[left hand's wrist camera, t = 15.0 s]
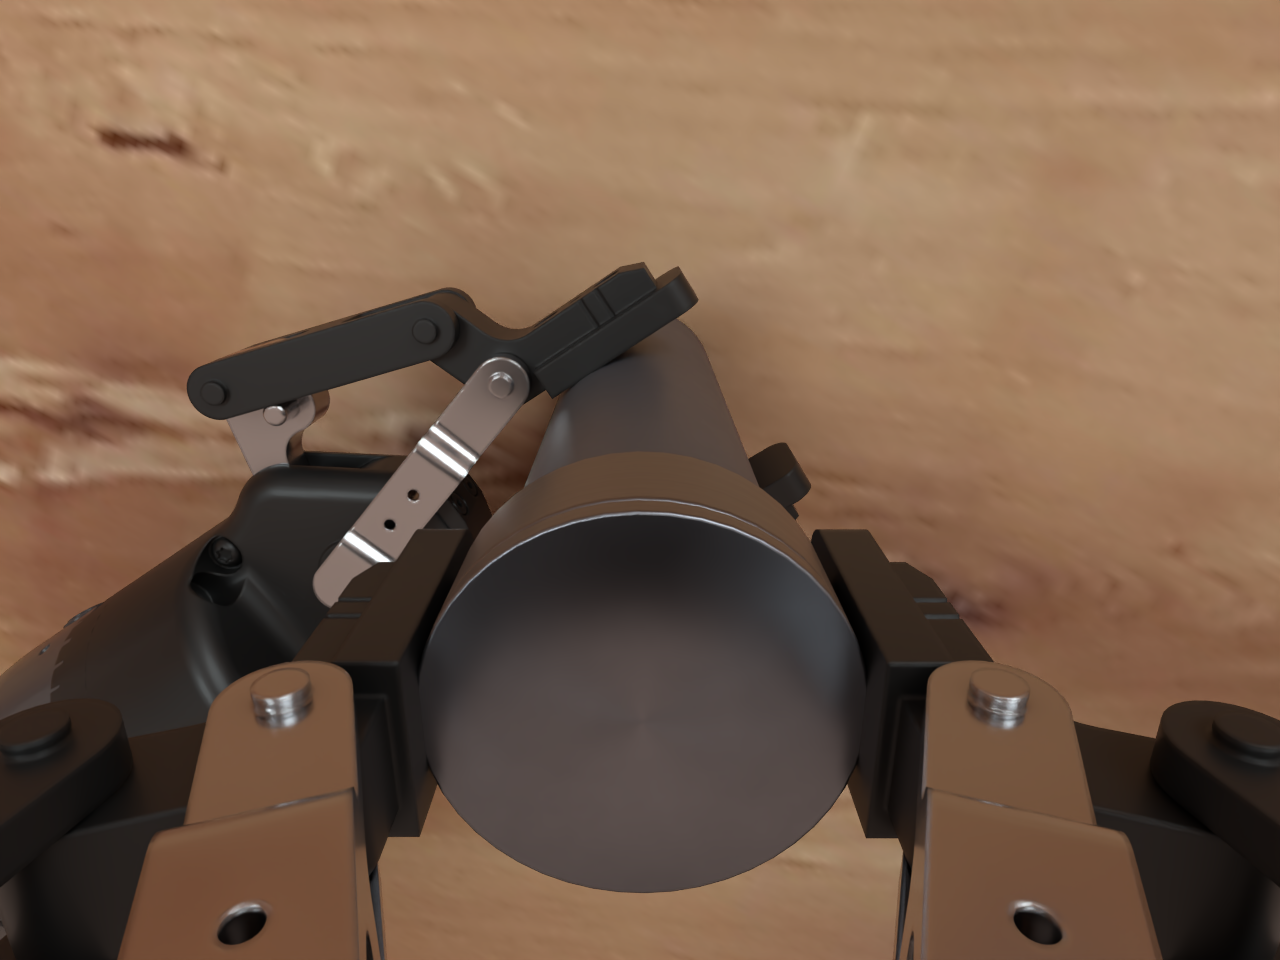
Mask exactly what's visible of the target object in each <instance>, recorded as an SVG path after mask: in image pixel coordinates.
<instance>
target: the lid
mask: <svg viewBox="0 0 1280 960" xmlns="http://www.w3.org/2000/svg"><path fill="white" fill-rule="evenodd" d="M418 684H419V694H420V703H421V712H422V721H423V730H424V739H425V748H426V756H427V763H428V765H429V768H430V771H431V773H432V775H433V777H434V778H435V780H436V782H437V784H438V786H439V787H440V789H441V791H442V793H443V794H444V796H445V797H446V798H447V800H448V801H449V802H450V804H451V805H452V806H453V808H454V809H455V810H456V812H457V813H458V814H459V815H460V816H461V817H462V818H463V819H464V820H465V821H466V822H467V823H468V824H469V826H470V827H471V828H472V829H473V830H474V831H475V832H476V833H478V834H479V835H480V836H481V837H483V838H484V839H485V840H486V841H488V842H489V843H490V844H491V845H493V846H494V847H495V848H497V849H498V850H500V851H501V852H503V853H505V854H506V855H508V856H509V857H511V858H513V859H514V860H516V861H517V862H519V863H521V864H523V865H525V866H528V867H530V868H532V869H534V870H536V871H538V872H540V873H542V874H545V875H548V876H551V877H554V878H556V879H559V880H562V881H565V882H568V883H572V884H576V885H581V886H585V887H589V888H593V889H601V890H608V891H615V892H632V893H654V892H669V891H678V890H684V889H689V888H695V887H701V886H704V885H708V884H712V883H715V882H719V881H723V880H726V879H729V878H731V877H734V876H736V875H739V874H741V873H744V872H746V871H749V870H751V869H753V868H755V867H757V866H759V865H761V864H763V863H765V862H767V861H768V860H770V859H772V858H774V857H775V856H777V855H778V854H780V853H781V852H783V851H784V850H786V849H787V848H789V847H790V846H792V845H793V844H795V843H796V842H797V841H798V840H799V839H801V838H802V837H803V836H804V835H805V834H806V833H807V832H809V831H810V830H811V829H812V828H813V827H814V826H815V825H816V824H817V823H818V822H819V821H820V820H821V819H822V817H823V816H824V815H825V814H826V813H827V812H828V811H829V810H830V809H831V807H832V806H833V804H834V803H835V802H836V800H837V799H838V797H839V796H840V794H841V793H842V791H843V790H844V788H845V787H846V785H847V783H848V781H849V779H850V777H851V775H852V773H853V771H854V769H855V767H856V765H857V762H858V757H859V750H860V741H861V733H862V724H863V715H864V706H865V698H866V687H867V672H866V665H865V662H864V659H863V655H862V652H861V649H860V646H859V643H858V640H857V637H856V635H855V633H854V631H853V629H852V627H851V625H850V623H849V621H848V619H847V616H846V614H845V612H844V610H843V608H842V606H841V604H840V602H839V600H838V598H837V596H836V593H835V591H834V589H833V587H832V585H831V583H830V581H829V579H828V577H827V575H826V572H825V570H824V568H823V566H822V564H821V562H820V560H819V558H818V556H817V554H816V552H815V550H814V548H813V546H812V544H811V542H810V540H809V539H808V537H807V536H806V534H805V533H804V531H803V530H802V528H801V527H800V526H799V524H798V523H797V521H796V520H795V519H794V518H793V517H792V516H791V515H790V514H789V513H788V512H787V511H786V510H785V508H784V507H783V506H782V505H781V504H780V503H778V502H777V501H776V500H775V499H774V498H772V497H771V496H770V495H769V494H768V493H766V492H765V491H764V490H763V489H761V488H760V487H758V486H757V485H755V484H753V483H752V482H750V481H748V480H747V479H745V478H744V477H742V476H740V475H738V474H736V473H734V472H732V471H729V470H727V469H725V468H723V467H720V466H718V465H716V464H713V463H709V462H706V461H703V460H699V459H696V458H693V457H688V456H682V455H676V454H670V453H664V452H641V451H636V452H624V453H612V454H607V455H602V456H597V457H592V458H588V459H584V460H581V461H578V462H575V463H572V464H569V465H566V466H563V467H561V468H558V469H556V470H554V471H552V472H550V473H548V474H546V475H544V476H542V477H540V478H538V479H537V480H535V481H534V482H532V483H531V484H529V485H528V486H526V487H525V488H523V489H522V490H520V491H519V492H517V493H516V494H515V495H514V496H513V497H511V498H510V499H509V500H508V501H507V502H506V503H505V504H504V505H503V506H501V507H500V508H499V509H498V510H497V511H496V512H495V514H494V515H493V516H492V517H491V518H490V520H489V521H488V522H487V523H486V524H485V526H484V527H483V528H482V529H481V531H480V533H479V534H478V536H477V537H476V539H475V541H474V542H473V544H472V546H471V547H470V549H469V551H468V553H467V555H466V557H465V560H464V562H463V564H462V566H461V568H460V570H459V572H458V574H457V576H456V579H455V581H454V583H453V585H452V587H451V589H450V591H449V593H448V596H447V598H446V600H445V602H444V604H443V606H442V608H441V611H440V613H439V615H438V617H437V619H436V621H435V623H434V625H433V628H432V630H431V632H430V635H429V637H428V639H427V642H426V644H425V646H424V649H423V653H422V657H421V661H420V665H419V668H418Z"/></svg>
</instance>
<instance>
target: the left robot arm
mask: <svg viewBox="0 0 1280 960" xmlns="http://www.w3.org/2000/svg"><path fill="white" fill-rule="evenodd" d="M472 544H473V538H472V534H471V532H470V530H469V529H417V530H416V531H415V532H414V534H413V535H412V537H411V538H410V540H409V542H408V543H407V545H406V546H405V548H404V549H403V551H402V552H401V554H400V555H399V557H398V558H397V560H396V562H378V563H376V564H375V565H373V566H371V567H370V568H368V569H367V570H365V571H363V572H362V573H360V574H359V575H357V576H355V577H354V578H352V580H351V581H350V582H349V584H348V585H347V586H346V588H345V589H344V590H343V592H342V593H341V595H340V596H339V597H338V602H335V603H334V604H333V606H332V607H331V608H330V610H329V611H328V612H327V614H326V618H323V619H322V621H321V622H320V623H319V625H318V626H317V627H316V629H315V630H314V632H313V633H312V634H311V636H310V637H309V638H308V640H307V641H306V642H305V644H304V645H303V647H302V648H301V649H300V651H299V652H298V653H297V655H296V656H295V658H294V659H293V660H292V662H286V663H281V664H276V665H272V666H269V667H266V668H262V669H260V670H257V671H255V672H252V673H250V674H248V675H246V676H244V677H242V678H240V679H238V680H237V681H235V682H233V683H232V684H230V685H229V686H228V687H227V688H225V689H224V690H223V691H222V692H221V693H220V694H219V695H218V696H217V697H216V698H215V700H214V701H213V703H212V704H211V707H210V709H209V712H208V717H207V721H206V722H204V723H200V724H196V725H192V726H187V727H182V728H177V729H171V730H166V731H161V732H156V733H151V734H146V735H140V736H135V737H130V738H128V737H127V733H126V729H125V726H124V722H123V718H122V715H121V712H120V710H119V709H118V708H117V707H116V706H115V705H113V704H111V703H109V702H107V701H103V700H99V699H89V698H86V699H69V700H61V701H56V702H50V703H47V704H43V705H39V706H35V707H32V708H29V709H26V710H23V711H20V712H18V713H15V714H13V715H10V716H8V717H6V718H4V719H2V720H0V918H1V921H2V924H3V926H4V929H5V932H6V935H5V936H4V937H3V938H2V939H1V940H0V960H387V951H386V938H385V925H384V912H383V899H382V886H381V877H380V870H379V863H378V861H379V858H380V856H381V853H382V851H383V848H384V846H385V843H386V840H387V838H388V837H420V834H421V831H422V828H423V825H424V822H425V819H426V816H427V813H428V810H429V807H430V804H431V802H432V799H433V796H434V793H435V790H436V787H437V782H436V780H435V778H434V777H433V775H432V773H431V771H430V768H429V765H428V763H427V756H426V748H425V739H424V730H423V721H422V712H421V703H420V694H419V684H418V668H419V665H420V661H421V657H422V653H423V649H424V646H425V644H426V642H427V639H428V637H429V635H430V632H431V630H432V628H433V625H434V623H435V621H436V619H437V617H438V615H439V613H440V611H441V608H442V606H443V604H444V602H445V600H446V598H447V596H448V593H449V591H450V589H451V587H452V585H453V583H454V581H455V579H456V576H457V574H458V572H459V570H460V568H461V566H462V564H463V562H464V560H465V557H466V555H467V553H468V551H469V549H470V547H471V546H472ZM811 544H812V546H813V548H814V550H815V552H816V554H817V556H818V558H819V560H820V562H821V564H822V566H823V568H824V570H825V572H826V575H827V577H828V579H829V581H830V583H831V585H832V587H833V589H834V591H835V593H836V596H837V598H838V600H839V602H840V604H841V606H842V608H843V610H844V612H845V614H846V616H847V619H848V621H849V623H850V625H851V627H852V629H853V631H854V633H855V635H856V637H857V640H858V643H859V646H860V649H861V652H862V655H863V659H864V662H865V665H866V672H867V687H866V698H865V706H864V715H863V724H862V733H861V741H860V750H859V757H858V762H857V765H856V767H855V769H854V771H853V773H852V775H851V777H850V779H849V781H848V783H847V784H848V787H849V790H850V793H851V796H852V799H853V802H854V805H855V808H856V810H857V813H858V816H859V819H860V822H861V825H862V828H863V831H864V834H865V836H866V838H898V839H899V841H900V844H901V847H902V849H903V857H902V863H901V870H900V877H899V886H898V899H897V912H896V925H895V938H894V951H893V960H1280V721H1279V720H1277V719H1275V718H1273V717H1270V716H1268V715H1265V714H1263V713H1260V712H1257V711H1254V710H1251V709H1248V708H1244V707H1240V706H1236V705H1232V704H1227V703H1221V702H1213V701H1186V702H1181V703H1177V704H1174V705H1172V706H1170V707H1168V708H1167V709H1166V710H1165V711H1164V713H1163V715H1162V717H1161V721H1160V725H1159V728H1158V732H1157V736H1156V739H1155V738H1150V737H1145V736H1140V735H1135V734H1129V733H1124V732H1119V731H1114V730H1109V729H1104V728H1098V727H1094V726H1090V725H1085V724H1082V723H1078V722H1075V721H1073V717H1072V712H1071V709H1070V707H1069V704H1068V703H1067V701H1066V700H1065V698H1064V697H1063V696H1062V695H1061V694H1060V693H1059V692H1058V691H1057V690H1056V689H1055V688H1053V687H1052V686H1051V685H1050V684H1048V683H1047V682H1045V681H1043V680H1042V679H1040V678H1038V677H1036V676H1034V675H1032V674H1030V673H1028V672H1025V671H1023V670H1020V669H1018V668H1014V667H1011V666H1008V665H1004V664H999V663H994V661H993V660H992V659H991V657H990V656H989V655H988V653H987V652H986V651H985V649H984V648H983V647H982V645H981V644H980V642H979V641H978V640H977V638H976V637H975V636H974V634H973V633H972V632H971V630H970V629H969V628H968V626H967V625H966V624H965V622H964V621H963V620H962V619H959V614H958V613H957V611H956V610H955V609H954V607H953V606H952V605H951V603H947V598H946V597H945V595H944V594H943V593H942V591H941V590H940V589H939V587H938V586H937V584H936V583H935V582H934V580H933V579H932V578H930V577H928V576H927V575H925V574H924V573H922V572H920V571H919V570H917V569H915V568H914V567H912V566H911V565H909V564H907V563H906V562H889V561H888V559H887V558H886V556H885V555H884V553H883V552H882V550H881V549H880V547H879V546H878V544H877V543H876V541H875V540H874V538H873V537H872V535H871V534H870V532H869V531H868V530H815V531H814V533H813V536H812V540H811Z"/></svg>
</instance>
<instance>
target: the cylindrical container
mask: <svg viewBox="0 0 1280 960" xmlns="http://www.w3.org/2000/svg"><path fill="white" fill-rule="evenodd" d="M636 451H641V452H664V453H670V454H676V455H682V456H688V457H693V458H696V459H699V460H703V461H706V462H709V463H713V464H716V465H718V466H720V467H723V468H725V469H727V470H729V471H732V472H734V473H736V474H738V475H740V476H742V477H744V478H745V479H747V480H748V481H750V482H752V483H753V484H755V485H757V486H758V487H759V485H758V483H757V480H756V478H755V475H754V472H753V470H752V467H751V465H750V462H749V460H748V457H747V455H746V452H745V450H744V447H743V445H742V442H741V440H740V437H739V435H738V432H737V430H736V427H735V425H734V422H733V420H732V417H731V414H730V412H729V409H728V407H727V404H726V402H725V399H724V397H723V394H722V392H721V389H720V387H719V384H718V382H717V379H716V377H715V374H714V372H713V369H712V367H711V364H710V362H709V359H708V356H707V354H706V352H705V350H704V347H703V345H702V344H701V342H700V341H699V339H698V338H697V336H696V335H695V334H694V333H693V332H692V330H690V329H689V328H688V327H687V326H686V325H685V324H683V323H682V322H680V321H679V320H678V319H675V320H673V321H671V322H670V323H668V324H667V325H665V326H664V327H662V328H661V329H659V330H658V331H656V332H654V333H653V334H651V335H650V336H648V337H647V338H645V339H644V340H642V341H641V342H639V343H638V344H636V345H634V346H633V347H631V348H630V349H628V350H627V351H625V352H624V353H622V354H621V355H619V356H617V357H616V358H614V359H613V360H611V361H610V362H608V363H607V364H605V365H604V366H602V367H601V368H599V369H597V370H596V371H594V372H592V373H591V374H589V375H588V376H586V377H585V378H583V379H582V380H580V381H579V382H577V383H576V384H574V385H573V386H571V387H570V388H568V389H567V390H565V391H564V392H562V393H561V394H560V396H559V399H558V401H557V404H556V406H555V409H554V412H553V414H552V417H551V419H550V422H549V424H548V427H547V430H546V432H545V435H544V437H543V440H542V442H541V445H540V448H539V450H538V453H537V455H536V458H535V460H534V463H533V465H532V468H531V471H530V473H529V476H528V478H527V481H526V483H525V486H524V488H525V487H526V486H528V485H529V484H531V483H532V482H534V481H535V480H537V479H538V478H540V477H542V476H544V475H546V474H548V473H550V472H552V471H554V470H556V469H558V468H561V467H563V466H566V465H569V464H572V463H575V462H578V461H581V460H584V459H588V458H592V457H597V456H602V455H607V454H612V453H624V452H636Z"/></svg>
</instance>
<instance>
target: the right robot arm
mask: <svg viewBox="0 0 1280 960" xmlns="http://www.w3.org/2000/svg"><path fill="white" fill-rule="evenodd" d="M697 302H698V298H697V296H696V294H695V292H694V291H693V289H692V287H691V286H690V284H689V283H688V281H687V279H686V278H685V276H684V274H683V273H682V271H681V270H680V268H679V267H675V268H673V269H671V270H670V271H668V272H666V273H665V274H663V275H661V276H660V277H658V278H657V279H654V277H653V276H652V274H651V273H650V271H649V269H648V268H647V266H646V265H645V263H644V262H641V263H636V264H632V265H627V266H622V267H619V268H618V269H616V270H615V271H613V272H612V273H610V274H609V275H607V276H606V277H604V278H603V279H601V280H600V281H599V282H597V283H595V284H594V285H592V286H591V287H590V288H588V289H587V290H585V291H584V292H582V293H581V294H579V295H578V296H576V297H575V298H573V299H572V300H570V301H569V302H567V303H566V304H564V305H563V306H561V307H560V308H558V309H557V310H555V311H554V312H552V313H551V314H549V315H548V316H546V317H545V318H543V319H542V320H540V321H539V322H538V323H536V324H534V325H533V326H531V327H528V328H524V329H510V328H506V327H503V326H501V325H499V324H498V323H496V322H494V321H493V320H492V319H490V318H489V317H488V316H486V315H485V314H483V313H482V312H481V311H479V310H478V309H477V308H476V306H475V304H474V302H473V300H472V299H471V298H470V296H469V295H468V294H466V293H465V292H463V291H462V290H460V289H457V288H442V289H439V290H436V291H432V292H429V293H426V294H422V295H419V296H416V297H412V298H409V299H406V300H402V301H399V302H395V303H392V304H389V305H385V306H382V307H379V308H375V309H372V310H369V311H365V312H362V313H359V314H355V315H352V316H349V317H345V318H342V319H339V320H335V321H332V322H329V323H325V324H322V325H319V326H315V327H312V328H309V329H305V330H302V331H299V332H295V333H292V334H288V335H285V336H282V337H278V338H275V339H272V340H268V341H265V342H262V343H258V344H255V345H252V346H250V347H247V348H245V349H243V350H240V351H237V352H235V353H232V354H230V355H227V356H225V357H222V358H220V359H217V360H215V361H213V362H210V363H208V364H205V365H203V366H200V367H198V368H197V369H195V370H194V371H193V372H192V373H191V375H190V376H189V379H188V382H187V393H188V397H189V399H190V401H191V403H192V404H193V406H194V407H195V408H196V409H197V410H198V411H199V412H200V413H201V414H203V415H205V416H207V417H209V418H212V419H216V420H225V419H226V420H227V422H228V424H229V426H230V428H231V430H232V432H233V434H234V436H235V438H236V440H237V443H238V445H239V447H240V449H241V451H242V453H243V455H244V457H245V459H246V461H247V464H248V466H249V468H250V470H251V472H252V474H253V476H252V477H251V478H250V479H249V480H248V482H247V483H246V484H245V486H244V487H243V489H242V491H241V493H240V496H239V499H238V502H237V504H236V507H235V509H234V510H233V512H232V514H231V515H230V516H229V517H228V518H227V519H225V520H224V521H222V522H221V523H219V524H218V525H216V526H215V527H213V528H212V529H211V530H209V531H208V532H206V533H205V534H203V535H202V536H200V537H199V538H197V539H196V540H194V541H193V542H191V543H190V544H188V545H187V546H185V547H184V548H182V549H181V550H180V551H178V552H177V553H175V554H174V555H172V556H171V557H169V558H168V559H166V560H165V561H163V562H162V563H160V564H159V565H157V566H156V567H154V568H153V569H151V570H150V571H149V572H147V573H146V574H144V575H143V576H141V577H140V578H138V579H137V580H135V581H134V582H132V583H131V584H129V585H128V586H126V587H125V588H123V589H122V590H120V591H119V592H118V593H116V594H115V595H113V596H112V597H110V598H109V599H107V600H106V601H105V602H103V603H100V604H98V605H95V606H93V607H91V608H89V609H87V610H85V611H83V612H81V613H80V614H78V615H76V616H75V617H73V618H72V619H70V620H69V621H68V623H67V624H66V625H65V626H64V627H63V630H61V631H60V632H58V633H57V634H55V635H54V636H52V637H51V638H50V639H48V640H46V641H45V642H43V643H42V644H40V645H39V646H37V647H36V648H34V649H33V650H32V651H30V652H29V653H28V654H26V655H25V656H24V657H22V658H21V659H20V660H19V661H17V662H16V663H15V664H14V665H12V666H11V667H10V668H9V669H8V670H6V671H5V672H4V673H3V674H2V675H1V676H0V720H2V719H4V718H6V717H8V716H10V715H13V714H15V713H18V712H20V711H23V710H26V709H29V708H32V707H35V706H39V705H43V704H47V703H50V702H56V701H61V700H69V699H86V698H89V699H99V700H103V701H107V702H109V703H111V704H113V705H115V706H116V707H117V708H118V709H119V710H120V712H121V715H122V718H123V722H124V726H125V729H126V733H127V737H128V738H130V737H135V736H140V735H146V734H151V733H156V732H161V731H166V730H171V729H177V728H182V727H187V726H192V725H196V724H200V723H204V722H206V721H207V717H208V712H209V709H210V707H211V704H212V703H213V701H214V700H215V698H216V697H217V696H218V695H219V694H220V693H221V692H222V691H223V690H224V689H225V688H227V687H228V686H229V685H230V684H232V683H233V682H235V681H237V680H238V679H240V678H242V677H244V676H246V675H248V674H250V673H252V672H255V671H257V670H260V669H262V668H266V667H269V666H272V665H276V664H281V663H286V662H292V660H293V659H294V658H295V656H296V655H297V653H298V652H299V651H300V649H301V648H302V647H303V645H304V644H305V642H306V641H307V640H308V638H309V637H310V636H311V634H312V633H313V632H314V630H315V629H316V627H317V626H318V625H319V623H320V622H321V621H322V619H323V618H326V614H327V612H328V611H329V610H330V608H331V607H332V606H333V604H334V603H335V602H338V597H339V596H340V595H341V593H342V592H343V590H344V589H345V588H346V586H347V585H348V584H349V582H350V581H351V580H352V578H354V577H355V576H357V575H359V574H360V573H362V572H363V571H365V570H367V569H368V568H370V567H371V566H373V565H375V564H376V563H378V562H396V560H397V558H398V557H399V555H400V554H401V552H402V551H403V549H404V548H405V546H406V545H407V543H408V542H409V540H410V538H411V537H412V535H413V534H414V532H415V531H416V530H417V529H469V530H470V532H471V534H472V538H473V542H474V541H475V539H476V537H477V536H478V534H479V533H480V531H481V529H482V528H483V527H484V526H485V524H486V523H487V522H488V521H489V520H490V518H491V517H492V514H491V512H490V509H489V507H488V505H487V502H486V500H485V498H484V495H483V493H482V491H481V489H480V488H479V487H478V485H477V484H476V483H475V481H474V480H473V479H472V478H471V476H470V475H469V474H468V472H469V471H470V469H471V468H472V467H473V465H474V464H475V463H476V461H477V460H478V459H479V457H480V456H481V455H482V454H483V452H484V451H485V450H486V449H487V448H488V446H489V445H490V444H491V443H492V442H493V440H494V439H495V438H496V437H497V435H498V434H499V433H500V432H501V431H502V429H503V428H504V427H505V426H506V424H507V423H508V422H509V421H510V420H511V418H512V417H513V416H514V415H515V413H516V412H517V411H518V410H519V409H520V407H521V406H522V405H523V404H525V403H526V402H528V401H530V400H531V399H533V398H534V397H536V396H537V395H539V394H540V393H542V392H543V391H545V390H546V391H547V392H548V393H549V395H550V396H551V398H552V399H553V398H554V397H556V396H557V395H559V394H560V393H562V392H564V391H565V390H567V389H568V388H570V387H571V386H573V385H574V384H576V383H577V382H579V381H580V380H582V379H583V378H585V377H586V376H588V375H589V374H591V373H592V372H594V371H596V370H597V369H599V368H601V367H602V366H604V365H605V364H607V363H608V362H610V361H611V360H613V359H614V358H616V357H617V356H619V355H621V354H622V353H624V352H625V351H627V350H628V349H630V348H631V347H633V346H634V345H636V344H638V343H639V342H641V341H642V340H644V339H645V338H647V337H648V336H650V335H651V334H653V333H654V332H656V331H658V330H659V329H661V328H662V327H664V326H665V325H667V324H668V323H670V322H671V321H673V320H675V319H676V318H678V317H679V316H681V315H682V314H684V313H685V312H686V311H688V310H689V309H690V308H692V307H693V306H694V305H695V304H696V303H697ZM429 360H430V361H432V362H433V363H435V364H436V365H438V366H439V367H440V368H442V369H443V370H445V371H446V372H448V373H449V374H450V375H452V376H453V377H455V378H456V379H458V380H459V381H460V382H462V383H463V384H465V385H464V386H463V387H462V389H461V390H460V391H459V392H458V394H457V395H456V396H455V397H454V399H453V400H452V401H451V403H450V404H449V405H448V406H447V408H446V409H445V410H444V411H443V413H442V414H441V415H440V416H439V418H438V419H437V420H436V422H435V423H434V424H433V425H432V427H431V428H430V429H429V430H428V431H427V433H426V434H425V435H424V436H423V438H422V439H421V440H420V441H419V442H418V444H417V445H416V446H415V447H414V449H413V450H412V451H411V453H410V454H409V455H408V456H400V455H380V454H360V453H340V452H320V451H304V450H303V447H302V434H303V432H304V430H305V429H306V428H307V427H308V426H310V425H311V424H313V423H314V422H315V421H317V420H318V419H320V418H321V417H322V416H323V415H324V414H325V413H326V412H327V410H328V408H329V404H330V396H329V392H328V390H329V389H333V388H336V387H340V386H343V385H346V384H350V383H353V382H357V381H360V380H364V379H367V378H371V377H374V376H377V375H381V374H384V373H388V372H391V371H395V370H398V369H402V368H405V367H408V366H412V365H415V364H419V363H422V362H426V361H429ZM748 460H749V462H750V465H751V467H752V470H753V472H754V475H755V478H756V480H757V483H758V485H759V487H760V488H761V489H763V490H764V491H765V492H766V493H768V494H769V495H770V496H771V497H772V498H774V499H775V500H776V501H777V502H778V503H780V504H781V505H782V506H783V507H784V508H785V510H786V511H787V512H788V513H789V514H790V515H791V516H792V517H793V518H794V519H795V520H796V519H797V517H798V516H799V515H798V513H797V511H796V509H795V507H794V505H793V504H794V503H796V502H798V501H799V500H800V499H802V498H803V497H804V496H805V495H806V494H807V493H808V492H809V490H810V488H811V484H810V482H809V481H808V479H807V477H806V475H805V474H804V472H803V470H802V468H801V467H800V465H799V463H798V462H797V460H796V458H795V457H794V455H793V454H792V452H791V450H790V449H789V447H788V445H787V444H786V443H777V444H774V445H772V446H770V447H768V448H766V449H764V450H763V451H761V452H759V453H758V454H756V455H754V456H753V457H751V458H749V459H748ZM5 935H6V932H5V929H4V926H3V924H2V921H1V918H0V940H1V939H2V938H3V937H4V936H5Z"/></svg>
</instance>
